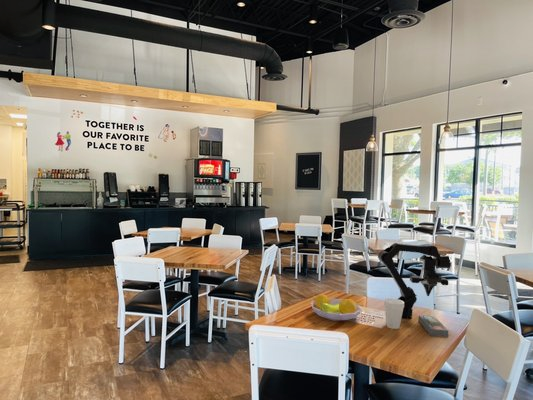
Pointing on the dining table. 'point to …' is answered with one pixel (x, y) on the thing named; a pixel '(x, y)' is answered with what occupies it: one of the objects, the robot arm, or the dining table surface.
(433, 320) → the sage button
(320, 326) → the dining table surface
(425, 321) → the button panel
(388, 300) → the foam cup
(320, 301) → the fruit bowl
